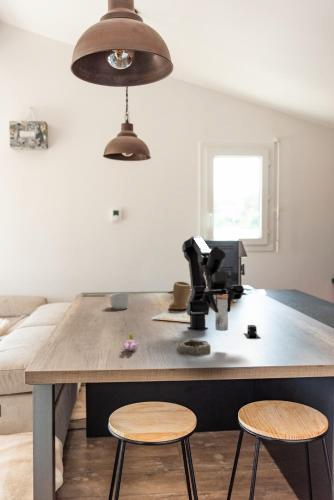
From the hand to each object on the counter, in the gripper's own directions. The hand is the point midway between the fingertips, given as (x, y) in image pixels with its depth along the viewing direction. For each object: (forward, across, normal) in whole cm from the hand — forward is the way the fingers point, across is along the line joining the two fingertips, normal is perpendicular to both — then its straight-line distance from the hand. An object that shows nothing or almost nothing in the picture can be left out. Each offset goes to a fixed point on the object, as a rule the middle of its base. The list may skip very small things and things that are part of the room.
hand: (222, 311), depth 152 cm
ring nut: (+9, -11, +10) cm, 17 cm away
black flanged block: (-2, +18, +22) cm, 28 cm away
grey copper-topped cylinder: (+4, 0, +6) cm, 7 cm away
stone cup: (-51, +4, +70) cm, 87 cm away
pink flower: (+5, -32, +14) cm, 36 cm away
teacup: (-57, -28, +77) cm, 100 cm away
